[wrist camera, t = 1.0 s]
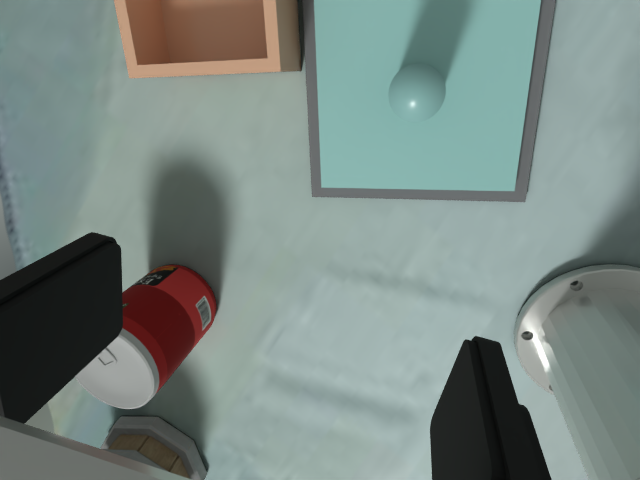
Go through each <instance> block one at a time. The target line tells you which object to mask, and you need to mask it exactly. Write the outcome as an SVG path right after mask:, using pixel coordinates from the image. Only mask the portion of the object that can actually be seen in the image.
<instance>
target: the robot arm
mask: <svg viewBox="0 0 640 480" xmlns="http://www.w3.org/2000/svg"><path fill="white" fill-rule="evenodd" d="M573 281H575V282H574V283H572V282H573ZM122 327H123V301H122V266H121V248H120V246H119V245H118V244H117V242H116V240H115V239H114V238H113V237H109V236H105V235H102V234H98V233H93V232H92V233H89V234H87V235H85V236H83V237H81V238H79V239H77V240H75V241H73V242H72V243H70V244H68V245H66V246H64V247H62V248H60V249H58V250H56V251H55V252H53V253H51V254H49V255H47V256H45V257H43V258H41V259H39V260H38V261H36V262H34V263H32V264H30V265H28V266H26V267H24V268H22V269H21V270H19V271H17V272H15V273H13V274H11V275H10V276H7V277H6V278H4V279H2V280H0V480H191V479H188V478H185V477H182V476H179V475H176V474H173V473H170V472H167V471H164V470H162V469H159V468H156V467H153V466H150V465H147V464H144V463H141V462H138V461H135V460H132V459H129V458H126V457H123V456H120V455H117V454H114V453H111V452H108V451H105V450H102V449H99V448H96V447H93V446H90V445H87V444H84V443H81V442H78V441H75V440H72V439H68V438H65V437H62V436H59V435H56V434H53V433H50V432H47V431H44V430H41V429H38V428H35V427H32V426H29V425H26V424H24V423H25V422H27V421H28V420H29V419H30V418H31V417H32V416H33V415H34V414H35V413H36V412H37V411H38V410H39V409H41V408H42V407H43V405H45V404H46V403H47V402H48V401H49V400H50V399H51V398H52V397H53V396H55V395H56V394H57V393H58V392H59V391H60V390H61V389H62V388H63V387H64V386H65V385H66V384H67V383H68V382H70V381H71V380H72V379H73V378H74V377H75V376H76V375H77V374H78V373H79V372H80V371H81V370H82V369H84V368H85V367H86V366H87V365H88V364H89V363H90V362H91V361H92V360H93V359H94V358H95V357H96V356H98V355H99V354H100V353H101V352H102V351H103V350H104V349H105V348H106V347H107V346H108V345H109V344H110V343H111V342H113V341H114V340H115V339H116V338H117V337H118V336H119V334H120V333H121V330H122ZM514 344H515V348H516V352H517V355H518V358H519V360H520V363H521V365H522V367H523V369H524V370H525V372H526V373H527V374H528V376H529V377H530V378H531V379H532V380H533V381H534V382H535V383H536V384H537V385H538V386H540V387H541V388H543V389H544V390H546V391H547V392H549V393H550V394H553V395H555V397H556V400H557V402H558V405H559V407H560V410H561V412H562V415H563V417H564V420H565V422H566V424H567V427H568V429H569V432H570V434H571V437H572V439H573V442H574V444H575V447H576V449H577V452H578V454H579V457H580V459H581V462H582V464H583V467H584V469H585V472H586V474H587V476H588V479H589V480H640V268H638V267H633V266H628V265H614V264H606V265H595V266H588V267H584V268H580V269H576V270H572V271H570V272H568V273H565V274H563V275H560V276H558V277H556V278H554V279H553V280H551V281H550V282H548V283H546V284H545V285H543V286H542V287H541V288H540V289H538V290H537V291H536V292H535V293H534V294H533V295H532V296H531V297H530V298H529V299H528V301H527V302H526V303H525V305H524V306H523V307H522V309H521V311H520V313H519V316H518V318H517V320H516V325H515V329H514ZM430 438H431V461H432V480H551V477H550V474H549V471H548V468H547V465H546V462H545V459H544V456H543V453H542V450H541V447H540V444H539V440H538V437H537V434H536V431H535V428H534V425H533V422H532V419H531V416H530V413H529V411H528V409H527V408H526V407H525V406H524V405H520V404H519V403H518V400H517V397H516V393H515V390H514V387H513V384H512V380H511V377H510V374H509V371H508V367H507V364H506V361H505V357H504V354H503V351H502V348H501V345H500V343H499V342H496V341H492V340H489V339H485V338H481V337H478V336H475V337H474V338H473V339H472V341H470V340H465V341H464V342H463V344H462V346H461V349H460V351H459V354H458V356H457V358H456V361H455V363H454V366H453V368H452V370H451V373H450V375H449V378H448V380H447V383H446V385H445V387H444V390H443V392H442V395H441V397H440V399H439V402H438V404H437V407H436V409H435V412H434V414H433V417H432V420H431V426H430Z"/></svg>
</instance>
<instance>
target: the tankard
mask: <svg viewBox="0 0 640 480" xmlns="http://www.w3.org/2000/svg"><path fill="white" fill-rule="evenodd" d="M101 449H102V450H105V451H108V452H111V453H114V454H117V455H120V456H123V457H126V458H129V459H132V460H135V461H138V462H141V463H144V464H147V465H150V466H153V467H156V468H159V469H162V470H164V471H167V472H170V473H173V474H176V475H179V476H182V477H185V478H188V479H191V480H204V479H205V477H206V475H207V472H206V470H205V467H204V465H203V462H202V460H201V457H200V455H199V452H198V450H197V448H196V445H195V443H194V440H192V439H191V438H189V437H188V436H186V435H185V434H183V433H182V432H180V431H179V430H177V429H176V428H174V427H173V426H171V425H170V424H168V423H167V422H165V421H164V420H162V419H161V418H159V417H123V416H121V417H120V418H119V419H118V420H117V421H116V423H115V424H114V425H113V427H112V429H111V430H110V432H109V434H108V436H107V437H106V439H105V441H104V443H103V444H102V446H101Z"/></svg>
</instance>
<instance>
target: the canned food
mask: <svg viewBox="0 0 640 480" xmlns="http://www.w3.org/2000/svg"><path fill="white" fill-rule="evenodd" d="M122 301H123V327H122V330H121V333H120V334H119V336H118V337H117V338H116V339H115V340H114V341H113V342H111V343H110V344H109V345H108V346H107V347H106V348H105V349H104V350H103V351H102V352H101V353H100V354H99V355H98V356H96V357H95V358H94V359H93V360H92V361H91V362H90V363H89V364H88V365H87V366H86V367H85V368H84V369H82V370H81V371H80V372H79V373H78V374H77V375H76V376H75V378H76V379H77V381H78V382H79V383H80V384H81V385H82V386H83V387H84V388H85V390H87V391H88V392H89V393H90V394H91V395H93V396H94V397H96V398H97V399H99V400H100V401H102V402H104V403H106V404H108V405H111V406H114V407H117V408H123V409H135V408H139V407H141V406H143V405H145V404H146V403H147V402H148V401H149V400H151V399H152V398H153V396H154V395H155V394H156V393H157V392H158V391H159V389H160V388H161V387H162V386H163V385H164V384H165V382H166V381H167V380H168V379H169V378H170V376H171V375H172V374H173V373H174V371H175V370H176V369H177V368H178V366H179V365H180V364H181V363H182V361H183V360H184V359H185V358H186V357H187V355H188V354H189V353H190V352H191V350H192V349H193V348H194V347H195V345H196V344H197V343H198V342H199V340H200V339H201V338H202V337H203V335H204V334H205V333H206V332H207V331H208V329H209V328H210V327H211V325H212V323H213V321H214V317H215V313H216V300H215V297H214V294H213V291H212V290H211V288H210V286H209V285H208V284H207V282H206V281H205V280H204V279H203V278H202V277H201V276H200V275H199V274H197V273H196V272H194V271H193V270H191V269H189V268H187V267H184V266H180V265H166V266H162V267H158V268H156V269H154V270H152V271H151V272H150V273H148V274H147V275H146V276H144V277H143V278H142V279H140V280H139V281H138V282H136V283H135V284H134V285H132V286H131V287H129V288H128V289H127V290H125V291H124V292H123V293H122Z"/></svg>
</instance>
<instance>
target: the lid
mask: <svg viewBox="0 0 640 480" xmlns="http://www.w3.org/2000/svg"><path fill="white" fill-rule="evenodd" d="M540 4H541V0H314V16H315V41H316V65H317V90H318V115H319V140H320V165H321V188H371V189H423V190H474V191H515V184H516V177H517V170H518V162H519V155H520V148H521V141H522V134H523V126H524V119H525V112H526V105H527V98H528V91H529V83H530V76H531V69H532V62H533V55H534V47H535V40H536V33H537V26H538V19H539V11H540Z"/></svg>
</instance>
